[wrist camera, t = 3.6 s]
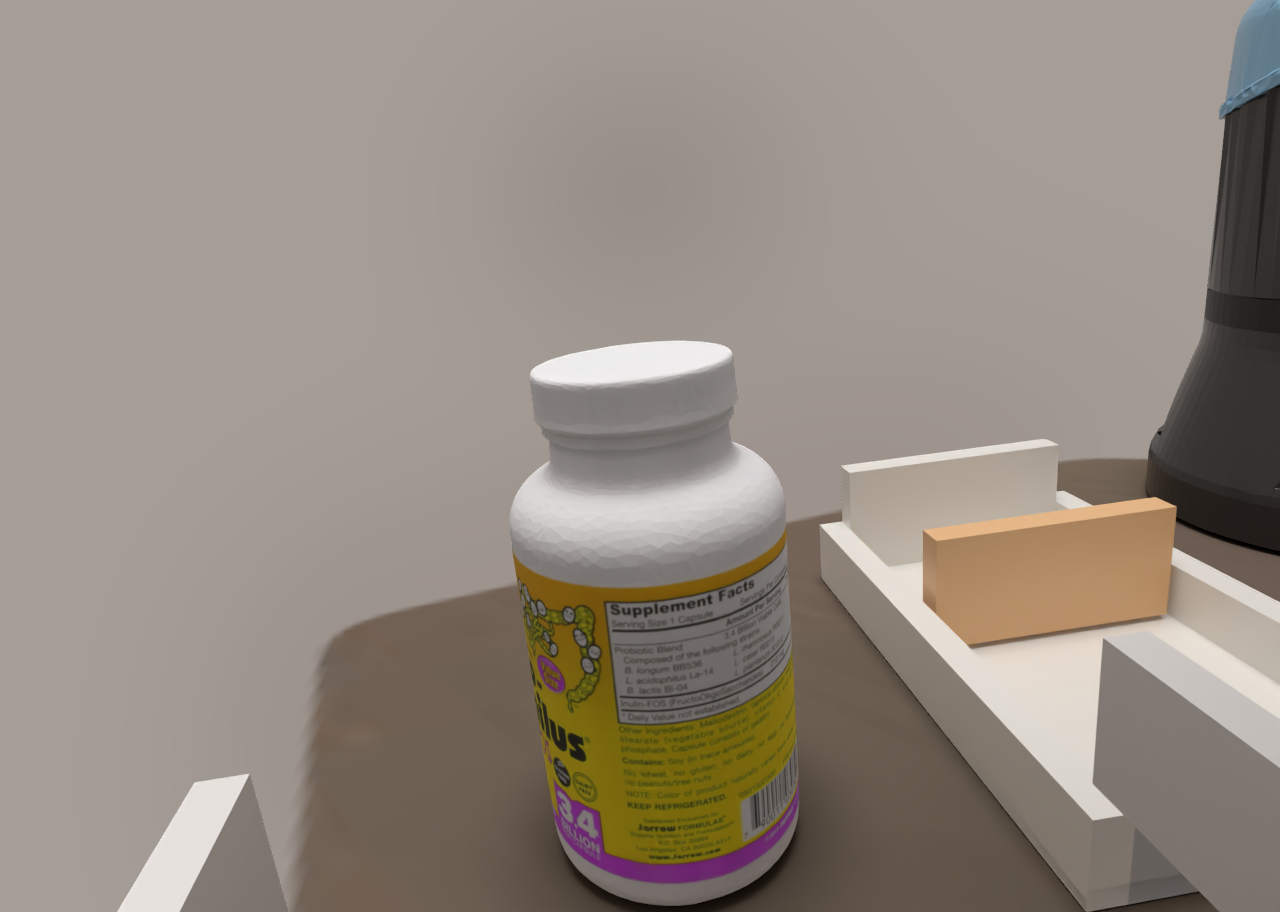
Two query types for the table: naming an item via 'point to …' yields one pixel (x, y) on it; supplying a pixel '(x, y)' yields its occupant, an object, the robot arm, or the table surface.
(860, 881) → the table surface
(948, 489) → the tray
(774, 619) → the supplement bottle
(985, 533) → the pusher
